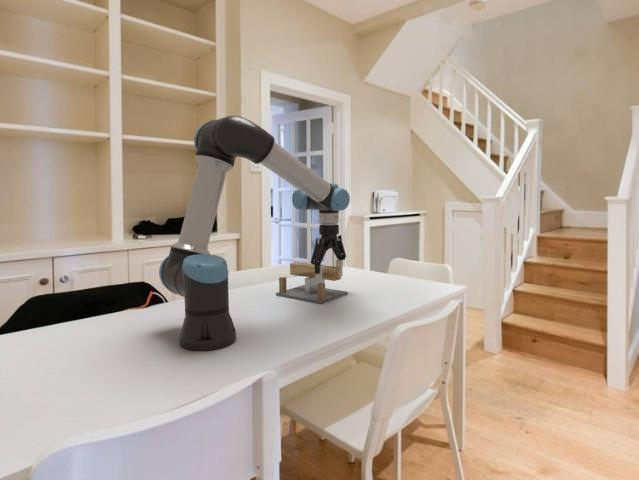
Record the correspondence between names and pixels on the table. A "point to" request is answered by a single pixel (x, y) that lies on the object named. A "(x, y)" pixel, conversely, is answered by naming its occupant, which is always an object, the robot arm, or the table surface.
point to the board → (317, 297)
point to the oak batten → (309, 271)
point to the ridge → (311, 285)
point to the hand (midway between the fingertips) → (329, 278)
